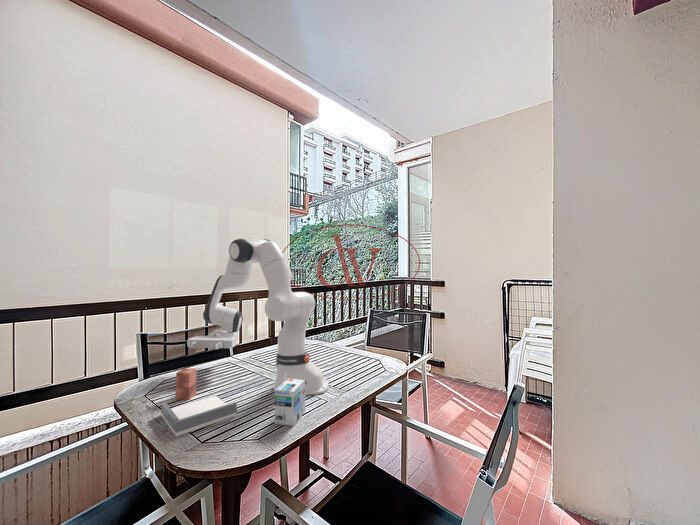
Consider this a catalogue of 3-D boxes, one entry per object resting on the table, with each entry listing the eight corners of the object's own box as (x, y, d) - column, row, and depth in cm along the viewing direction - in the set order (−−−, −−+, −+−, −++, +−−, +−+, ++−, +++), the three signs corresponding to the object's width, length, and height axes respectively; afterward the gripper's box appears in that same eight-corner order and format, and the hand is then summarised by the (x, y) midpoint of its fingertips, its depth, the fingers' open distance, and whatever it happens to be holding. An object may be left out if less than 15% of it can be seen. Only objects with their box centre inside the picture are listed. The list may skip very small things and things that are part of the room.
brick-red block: (196, 394, 116) (196, 368, 116) (189, 399, 111) (189, 372, 111) (183, 394, 116) (183, 368, 116) (175, 399, 111) (176, 372, 111)
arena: (216, 398, 112) (216, 387, 112) (236, 415, 99) (236, 403, 100) (160, 414, 100) (160, 402, 100) (175, 436, 87) (176, 422, 87)
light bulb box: (293, 426, 92) (294, 391, 93) (273, 424, 94) (273, 389, 94) (305, 410, 103) (305, 379, 103) (287, 408, 104) (287, 377, 104)
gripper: (196, 331, 141) (179, 338, 127) (239, 332, 141) (227, 339, 127) (196, 345, 141) (179, 353, 127) (239, 346, 141) (226, 354, 127)
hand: (203, 346), depth 127 cm, fingers open, 8 cm apart
